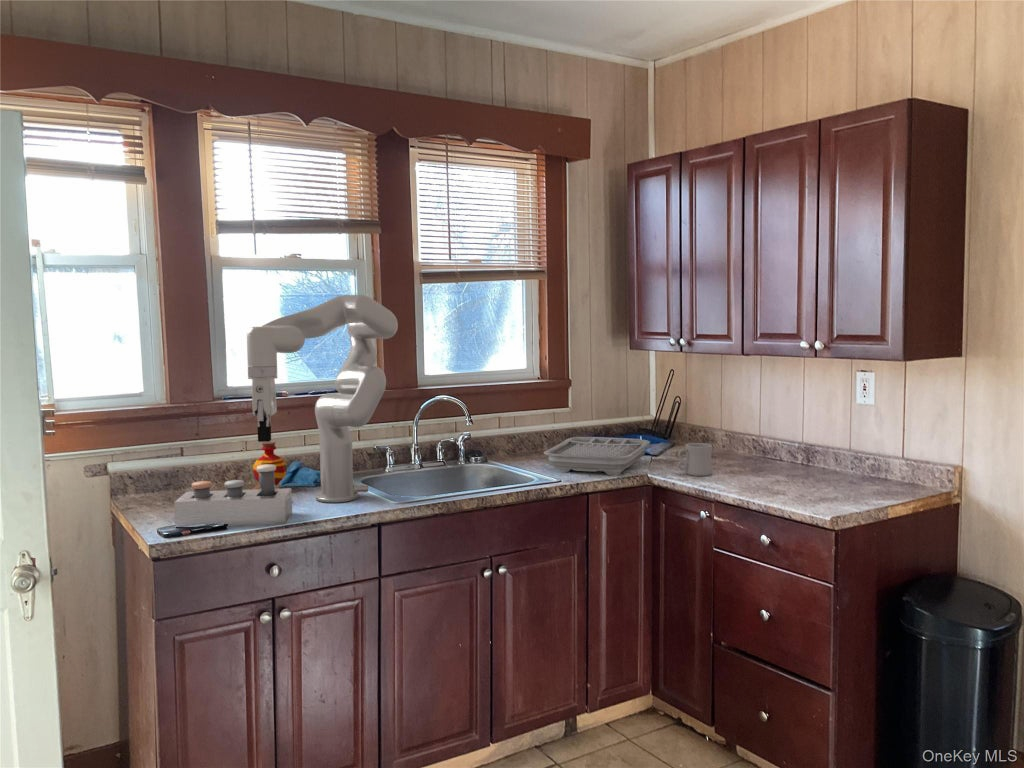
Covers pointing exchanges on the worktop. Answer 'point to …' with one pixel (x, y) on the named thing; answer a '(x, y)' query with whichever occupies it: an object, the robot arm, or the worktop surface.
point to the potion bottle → (271, 462)
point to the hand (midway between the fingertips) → (264, 441)
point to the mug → (697, 459)
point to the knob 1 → (202, 489)
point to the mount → (234, 508)
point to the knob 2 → (266, 480)
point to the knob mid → (234, 488)
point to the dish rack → (596, 454)
